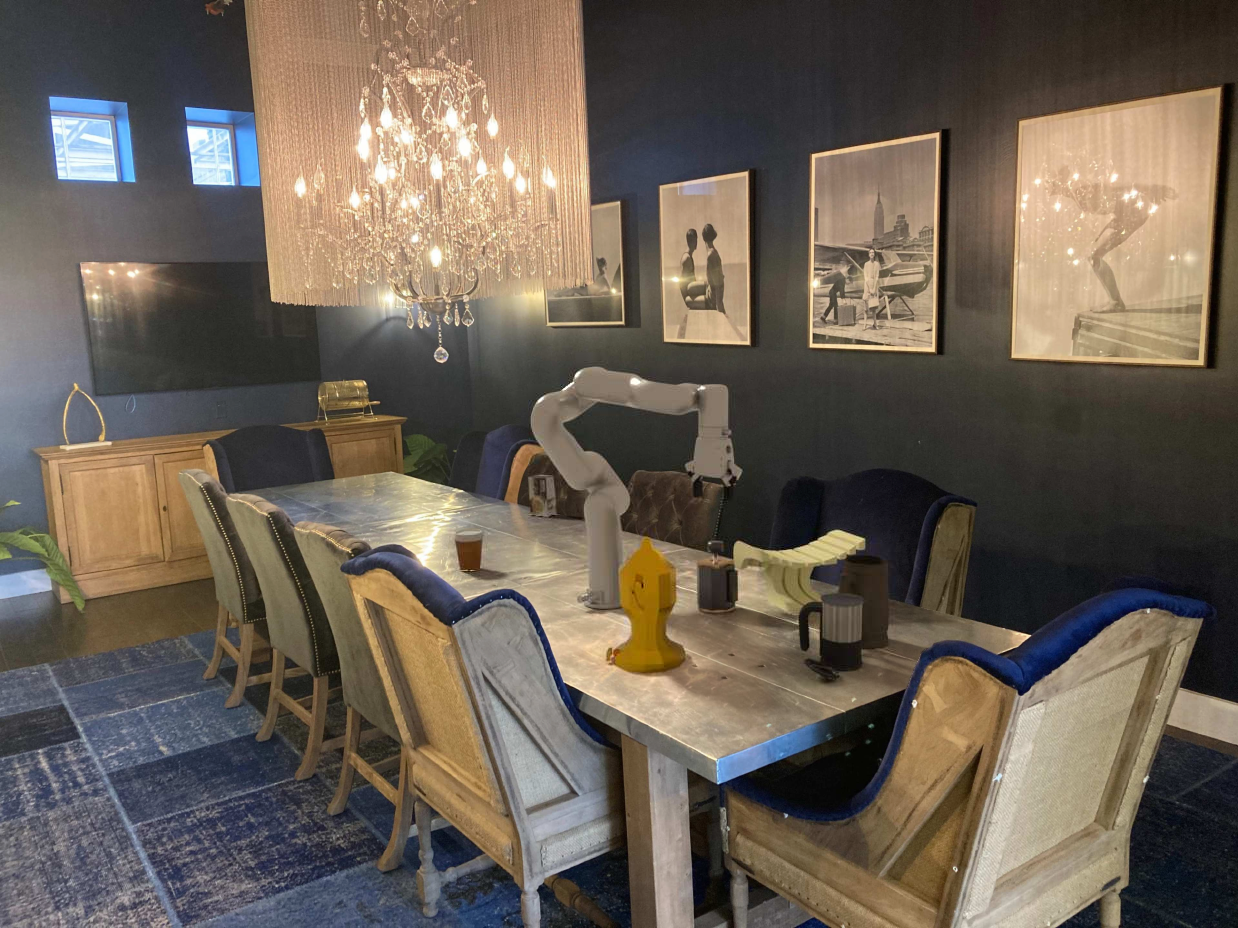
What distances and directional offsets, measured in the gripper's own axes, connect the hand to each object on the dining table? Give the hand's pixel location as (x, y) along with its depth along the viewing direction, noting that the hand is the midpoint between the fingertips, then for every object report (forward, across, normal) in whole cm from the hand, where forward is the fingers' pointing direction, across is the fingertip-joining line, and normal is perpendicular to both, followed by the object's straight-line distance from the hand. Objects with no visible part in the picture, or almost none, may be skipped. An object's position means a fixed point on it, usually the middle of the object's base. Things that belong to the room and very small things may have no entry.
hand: (712, 498), depth 248 cm
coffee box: (+31, +131, -64) cm, 149 cm away
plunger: (+27, -1, 0) cm, 27 cm away
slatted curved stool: (+29, -16, -17) cm, 37 cm away
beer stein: (+29, -44, +3) cm, 53 cm away
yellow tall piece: (+30, -11, +41) cm, 51 cm away
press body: (+29, -1, 0) cm, 29 cm away
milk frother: (+29, -47, +21) cm, 59 cm away
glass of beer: (+31, +86, +11) cm, 92 cm away
